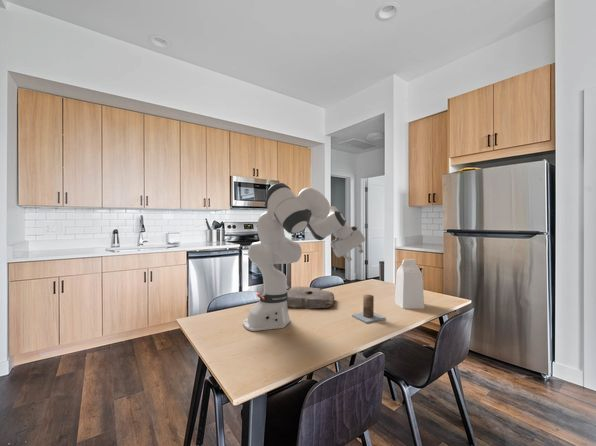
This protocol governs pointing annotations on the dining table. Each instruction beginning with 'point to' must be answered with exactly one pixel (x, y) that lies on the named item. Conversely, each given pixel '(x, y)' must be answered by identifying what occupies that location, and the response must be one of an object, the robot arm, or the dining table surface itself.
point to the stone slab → (309, 298)
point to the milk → (409, 286)
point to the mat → (368, 320)
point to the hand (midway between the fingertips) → (356, 256)
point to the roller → (368, 306)
